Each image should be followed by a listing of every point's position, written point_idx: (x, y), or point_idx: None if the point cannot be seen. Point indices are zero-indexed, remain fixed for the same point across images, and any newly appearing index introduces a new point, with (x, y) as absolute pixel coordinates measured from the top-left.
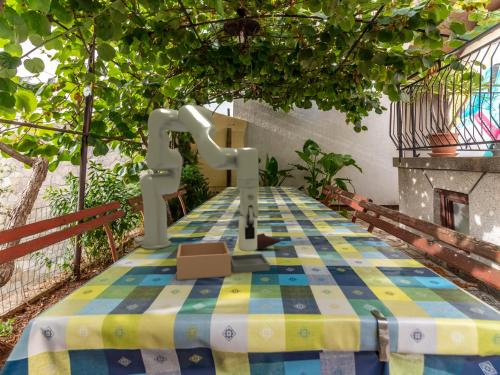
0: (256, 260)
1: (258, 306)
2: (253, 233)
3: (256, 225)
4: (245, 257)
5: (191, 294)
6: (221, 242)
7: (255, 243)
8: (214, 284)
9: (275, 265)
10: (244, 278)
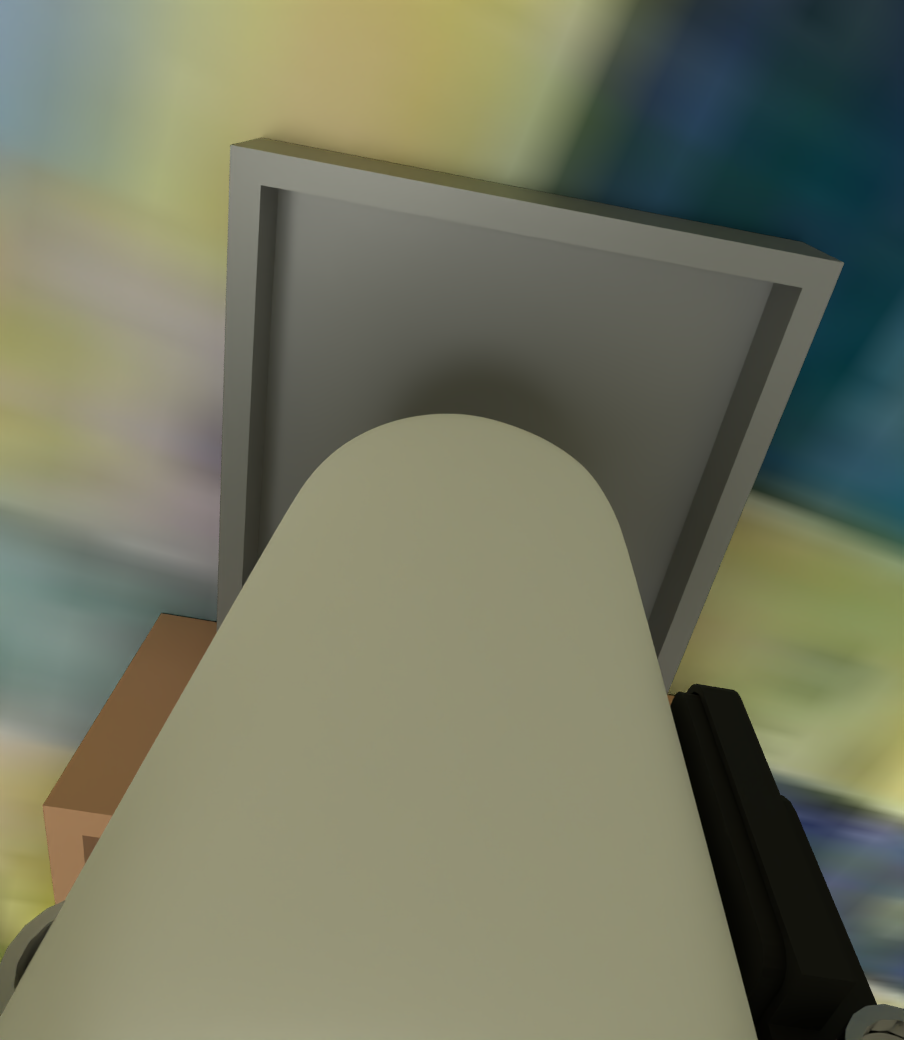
0: (381, 298)
1: None
2: (762, 809)
3: (665, 878)
4: (258, 436)
5: (901, 979)
6: (86, 853)
7: (617, 549)
8: (824, 847)
9: (638, 33)
10: (857, 615)
